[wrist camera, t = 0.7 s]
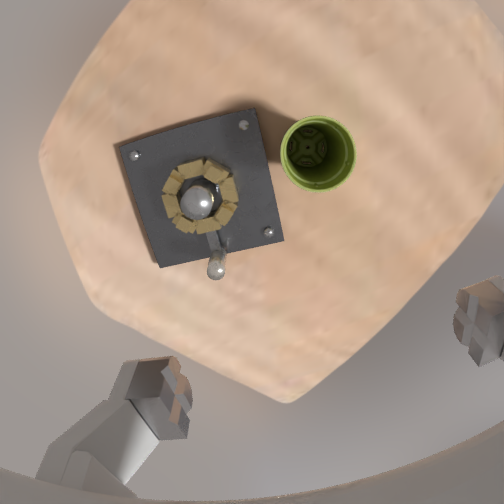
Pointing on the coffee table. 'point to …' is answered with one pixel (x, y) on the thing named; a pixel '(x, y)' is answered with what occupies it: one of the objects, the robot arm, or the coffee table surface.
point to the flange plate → (226, 155)
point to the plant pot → (318, 154)
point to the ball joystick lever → (213, 219)
